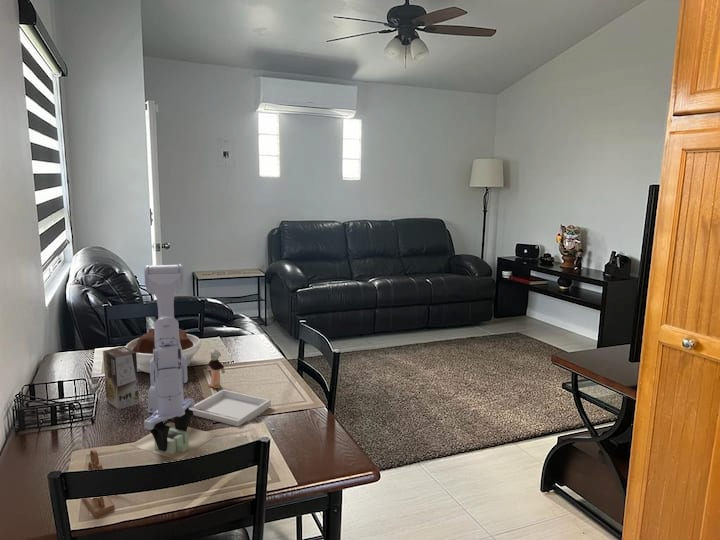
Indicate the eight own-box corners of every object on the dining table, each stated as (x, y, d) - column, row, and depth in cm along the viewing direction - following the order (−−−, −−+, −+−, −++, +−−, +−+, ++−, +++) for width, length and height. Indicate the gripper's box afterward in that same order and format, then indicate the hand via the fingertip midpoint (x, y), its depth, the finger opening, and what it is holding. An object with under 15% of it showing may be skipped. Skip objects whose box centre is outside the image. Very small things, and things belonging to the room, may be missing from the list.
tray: (187, 416, 149) (187, 408, 148) (223, 396, 163) (223, 389, 162) (238, 429, 142) (237, 421, 141) (270, 407, 156) (270, 399, 155)
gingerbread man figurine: (81, 497, 111) (77, 445, 109) (100, 490, 113) (97, 439, 111) (94, 517, 104) (90, 462, 102) (115, 509, 107) (111, 455, 105)
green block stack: (154, 449, 129) (154, 437, 128) (171, 439, 134) (171, 427, 133) (177, 455, 126) (176, 443, 125) (193, 445, 131) (193, 433, 130)
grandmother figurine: (202, 387, 170) (201, 349, 168) (210, 383, 174) (208, 346, 171) (222, 391, 167) (221, 353, 165) (229, 386, 171) (228, 349, 169)
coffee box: (140, 403, 157) (137, 352, 154) (118, 410, 152) (114, 357, 149) (127, 395, 163) (124, 345, 160) (105, 401, 158) (102, 350, 155)
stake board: (129, 448, 131) (128, 431, 130) (171, 425, 143) (170, 409, 142) (178, 464, 124) (178, 446, 123) (217, 438, 137) (217, 421, 136)
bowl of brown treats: (216, 365, 190) (215, 325, 187) (157, 387, 169) (154, 343, 166) (171, 352, 203) (169, 315, 200) (111, 371, 182) (108, 330, 179)
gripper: (159, 407, 119) (162, 462, 122) (202, 385, 133) (204, 435, 135) (136, 401, 122) (139, 455, 125) (181, 380, 135) (183, 429, 138)
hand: (171, 444), depth 130 cm, fingers closed on green block stack, 6 cm apart
